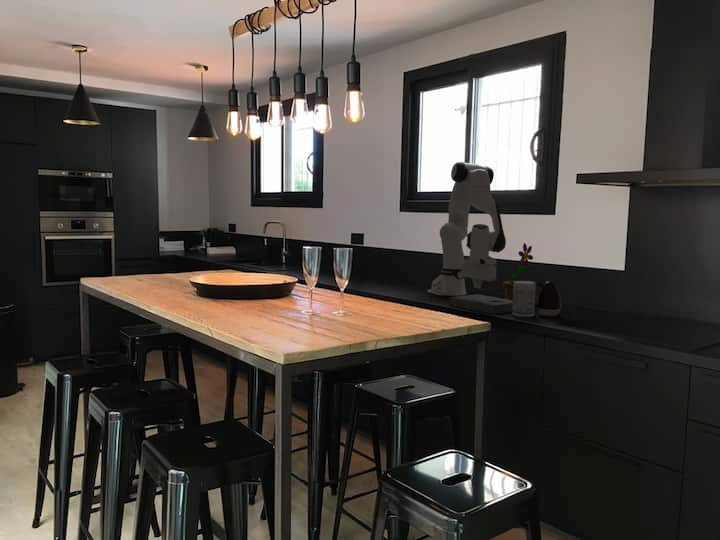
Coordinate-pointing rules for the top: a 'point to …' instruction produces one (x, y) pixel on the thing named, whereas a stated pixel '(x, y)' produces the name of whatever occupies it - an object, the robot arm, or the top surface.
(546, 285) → the dark brown egg shape
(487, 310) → the board
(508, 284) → the flowerpot
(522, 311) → the supplement tub
